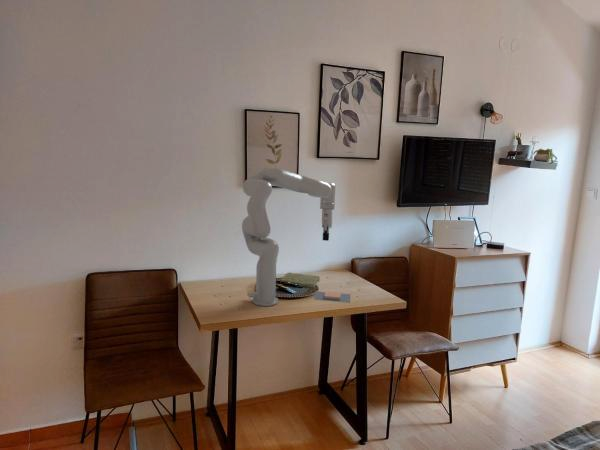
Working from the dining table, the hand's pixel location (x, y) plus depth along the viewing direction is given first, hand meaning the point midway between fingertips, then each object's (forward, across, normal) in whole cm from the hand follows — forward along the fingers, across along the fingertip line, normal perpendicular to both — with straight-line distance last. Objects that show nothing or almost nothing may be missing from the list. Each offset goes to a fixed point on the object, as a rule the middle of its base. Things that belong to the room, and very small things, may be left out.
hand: (325, 240), depth 230 cm
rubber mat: (+27, -14, -6) cm, 31 cm away
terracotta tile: (+26, -11, -6) cm, 28 cm away
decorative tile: (+28, +8, +14) cm, 32 cm away
